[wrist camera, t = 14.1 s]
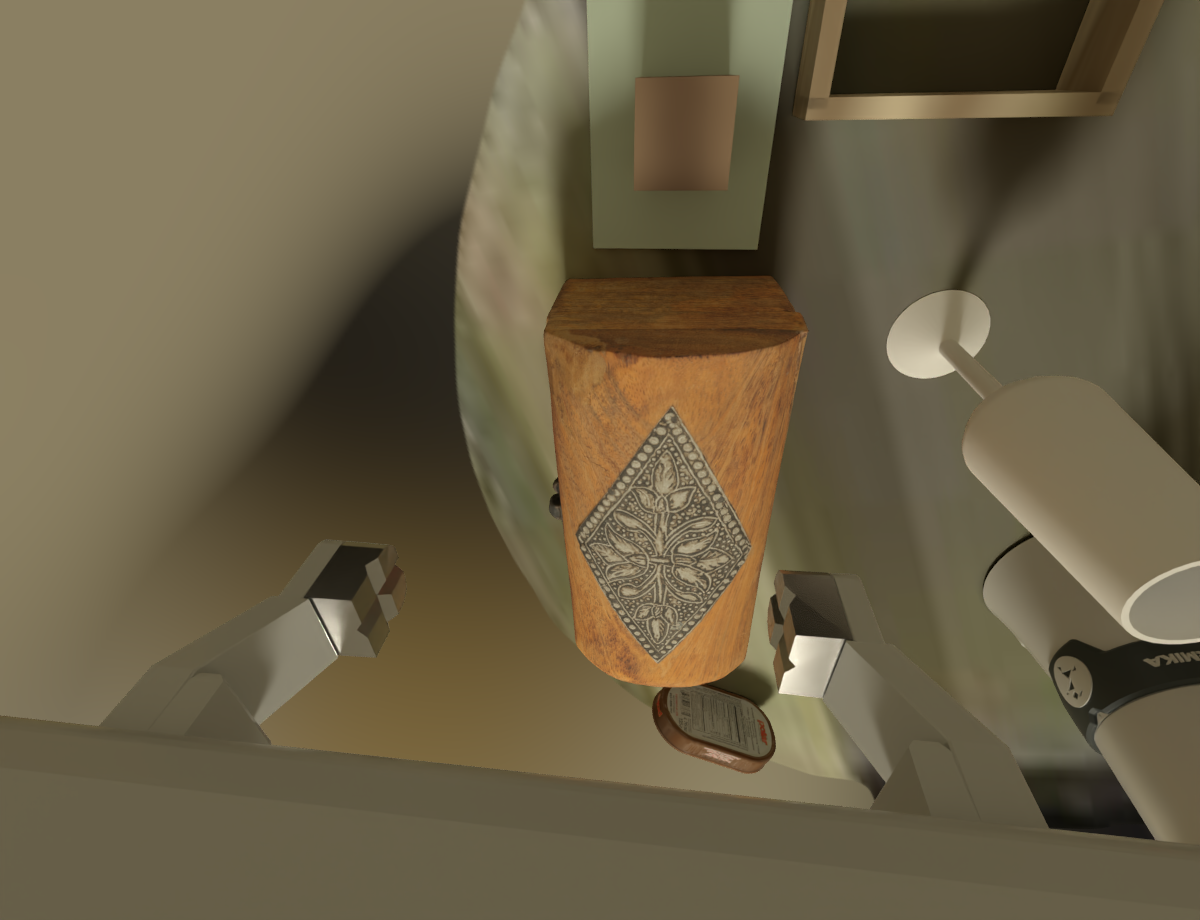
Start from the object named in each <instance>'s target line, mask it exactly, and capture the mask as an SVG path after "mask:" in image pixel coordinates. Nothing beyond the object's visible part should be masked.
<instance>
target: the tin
mask: <svg viewBox="0 0 1200 920" xmlns="http://www.w3.org/2000/svg"><path fill="white" fill-rule="evenodd" d="M652 713H653V719H654V722H655V725H656V727H657V729H658V731H659V733H660V734H661V736H662V737H663V738H664V740H665V741H666V742H667V743H668V744H669V745H670V746H672V747H673V748H674V749H676V750H677V751H679V752H681V753H684V754H686V755H690V756H693V757H696V758H699V759H702V760H705V761H708V762H711V763H714V764H718V765H720V766H723V767H726V768H729V769H732V770H735V771H738V772H741V773H746V774H750V773H755V772H758V771H759V770H760V769H762V768H763V767H764V765H765V764H766V763H767V762H768V761H769V760H770V759H771V758H772V756H773V754H774V752H775V749H776V742H775V736H774V732H773V729H772V726H771V723H770V721H769V719H768V718H767V716H766V715H765V714H764V712H763V711H762V710H761V709H760V708H759V707H758V706H757V705H756V704H754V703H753V702H752V701H750V700H748V699H747V698H744V697H742V696H739V695H736V694H733V693H730V692H727V691H725V690H722V689H719V688H716V687H713V686H710V685H707V684H701V685H697V686H692V687H663V689H662V690H661V691H659V692H658V694H657V695H656V696H655V698H654V701H653V706H652Z"/></svg>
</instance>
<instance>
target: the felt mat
mask: <svg viewBox="0 0 1200 920" xmlns="http://www.w3.org/2000/svg"><path fill="white" fill-rule="evenodd" d="M792 3H793V0H587V30H588V68H589V106H590V144H591V183H592V221H593V248H625V249H741V250H757V248H758V241H759V234H760V227H761V220H762V213H763V206H764V199H765V192H766V185H767V178H768V171H769V164H770V157H771V150H772V143H773V136H774V129H775V122H776V115H777V108H778V101H779V94H780V87H781V80H782V73H783V66H784V59H785V52H786V45H787V38H788V31H789V24H790V17H791V10H792ZM699 75H740V77H739V86H738V96H737V105H736V115H735V124H734V134H733V143H732V152H731V162H730V171H729V181H728V190H727V191H634V131H635V78H638V77H657V76H699Z"/></svg>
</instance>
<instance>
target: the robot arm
mask: <svg viewBox="0 0 1200 920" xmlns="http://www.w3.org/2000/svg"><path fill="white" fill-rule="evenodd" d="M398 558H399V557H398V554H397V552H396V549H395V547H394V546H391V545H385V544H374V543H363V542H352V541H337V540H324V541H322V542H320V543H319V544H318V545H317V546H316V547H315V549H314V550H313V551H312V553H311V554H310V555H309V557H308V558H307V559H306V561H305V562H304V563H303V565H302V566H301V567H300V568H299V570H298V571H297V573H296V574H295V575H294V576H293V578H292V579H291V580H290V582H289V583H288V584H287V586H286V587H285V588H284V589H283V591H282V592H281V593H280V595H279V596H271V597H269V598H268V599H266V600H264V601H262V602H261V603H259V604H257V605H255V606H254V607H252V608H250V609H249V610H247V611H245V612H243V613H242V614H240V615H238V616H237V617H235V618H233V619H231V620H230V621H228V622H226V623H225V624H223V625H221V626H219V627H218V628H216V629H214V630H212V631H211V632H209V633H207V634H206V635H204V636H202V637H200V638H199V639H197V640H195V641H193V642H192V643H190V644H188V645H187V646H185V647H183V648H181V649H180V650H178V651H176V652H175V653H173V654H171V655H169V656H168V657H166V658H164V659H163V660H161V661H159V662H157V663H156V664H154V665H152V666H151V668H150V669H149V670H148V671H147V672H146V673H145V674H144V675H143V676H142V678H141V679H140V680H139V681H138V682H137V683H136V684H135V686H134V687H133V688H132V689H131V690H130V691H129V692H128V693H127V695H126V696H125V697H124V698H123V699H122V700H121V701H120V703H119V704H118V705H117V706H116V707H115V708H114V709H113V711H112V712H111V713H110V714H109V715H108V716H107V717H106V719H105V720H104V721H103V722H102V723H101V724H100V725H99V726H92V725H83V724H73V723H65V722H55V721H46V720H37V719H28V718H18V717H10V716H0V920H1200V642H1196V643H1186V644H1159V643H1152V642H1148V641H1144V640H1141V639H1139V638H1136V637H1134V636H1132V635H1131V634H1130V633H1129V632H1127V631H1126V630H1125V629H1124V628H1123V627H1122V626H1121V625H1120V624H1119V623H1118V622H1117V621H1116V620H1115V619H1114V618H1113V617H1112V616H1111V615H1110V614H1109V613H1108V612H1107V611H1106V609H1105V608H1104V607H1103V606H1102V605H1101V604H1100V603H1099V602H1098V601H1097V600H1096V599H1095V598H1094V597H1093V596H1092V595H1091V594H1090V593H1089V592H1088V591H1087V590H1086V589H1085V588H1084V587H1083V586H1082V585H1081V584H1080V583H1079V582H1078V581H1077V580H1076V579H1075V578H1074V577H1073V576H1072V575H1071V574H1070V573H1069V572H1068V571H1067V570H1066V569H1065V568H1064V566H1063V565H1062V564H1061V563H1060V562H1059V561H1058V560H1057V559H1056V558H1055V557H1054V556H1053V555H1052V554H1051V553H1050V552H1049V551H1048V550H1047V549H1046V548H1045V547H1044V546H1043V545H1042V544H1041V543H1040V542H1039V541H1038V540H1037V539H1036V538H1035V537H1033V538H1031V539H1029V540H1027V541H1025V542H1023V543H1022V544H1020V545H1018V546H1017V547H1015V548H1014V549H1012V550H1011V551H1010V552H1008V553H1007V554H1006V555H1005V556H1004V557H1002V558H1001V559H1000V560H999V561H998V562H997V563H996V565H995V566H994V567H993V568H992V570H991V571H990V573H989V574H988V576H987V578H986V581H985V584H984V588H983V597H984V601H985V603H986V605H987V607H988V608H989V610H990V611H991V612H992V613H993V614H994V615H995V616H996V617H997V618H998V619H1000V620H1001V621H1002V622H1003V623H1004V624H1005V625H1006V626H1007V627H1008V628H1009V629H1010V630H1011V632H1012V633H1013V634H1014V635H1015V637H1016V638H1017V639H1018V640H1019V642H1020V643H1021V644H1022V646H1024V647H1025V648H1026V649H1027V650H1028V651H1029V652H1030V653H1031V655H1032V656H1033V657H1034V658H1035V660H1036V661H1037V662H1038V663H1039V665H1040V666H1041V667H1042V668H1043V670H1044V671H1045V672H1046V673H1047V675H1048V676H1049V677H1050V678H1051V680H1052V681H1053V683H1054V685H1055V687H1056V690H1057V692H1058V694H1059V696H1060V698H1061V701H1062V703H1063V705H1064V707H1065V708H1066V710H1067V711H1068V713H1069V715H1070V716H1071V718H1072V719H1073V721H1074V723H1075V724H1076V726H1077V727H1078V729H1079V731H1080V732H1081V734H1082V736H1083V737H1084V738H1085V739H1086V741H1087V742H1088V744H1089V745H1090V746H1091V748H1092V749H1094V750H1095V751H1096V752H1097V753H1099V754H1101V755H1103V756H1104V758H1105V760H1106V761H1107V763H1108V764H1109V766H1110V768H1111V769H1112V771H1113V773H1114V774H1115V776H1116V777H1117V779H1118V781H1119V782H1120V784H1121V785H1122V787H1123V789H1124V790H1125V792H1126V793H1127V795H1128V796H1129V798H1130V800H1131V801H1132V803H1133V804H1134V806H1135V808H1136V809H1137V811H1138V812H1139V814H1140V816H1141V817H1142V819H1143V820H1144V822H1145V824H1146V825H1147V827H1148V828H1149V830H1150V832H1151V833H1152V835H1153V836H1154V838H1155V840H1148V839H1139V838H1130V837H1120V836H1110V835H1102V834H1092V833H1083V832H1074V831H1065V830H1056V829H1049V828H1048V826H1047V823H1046V821H1045V819H1044V817H1043V815H1042V813H1041V811H1040V809H1039V807H1038V805H1037V803H1036V801H1035V799H1034V797H1033V795H1032V793H1031V791H1030V789H1029V787H1028V785H1027V783H1026V781H1025V779H1024V777H1023V775H1022V773H1021V771H1020V769H1019V767H1018V765H1017V763H1016V761H1015V759H1014V757H1013V755H1012V753H1011V751H1010V749H1009V747H1008V746H1007V745H1006V744H1005V743H1003V742H1002V741H1001V740H1000V739H999V738H998V737H997V736H996V735H994V734H993V733H992V732H991V731H990V730H989V729H988V728H987V727H985V726H984V725H983V724H982V723H981V722H980V721H979V720H978V719H976V718H975V717H974V716H973V715H972V714H971V713H970V712H969V711H967V710H966V709H965V708H964V707H963V706H962V705H961V704H960V703H958V702H957V701H956V700H955V699H954V698H953V697H952V696H951V695H949V694H948V693H947V692H946V691H945V690H944V689H943V688H942V687H940V686H939V685H938V684H937V683H936V682H935V681H934V680H933V679H931V678H930V677H929V676H928V675H927V674H926V673H925V672H924V671H922V670H921V669H920V668H919V667H918V666H917V665H916V664H915V663H913V662H912V661H911V660H910V659H909V658H908V657H907V656H905V655H904V654H903V653H902V652H901V651H900V650H899V649H898V648H896V647H895V646H894V645H893V644H885V643H884V640H883V637H882V635H881V632H880V629H879V627H878V624H877V621H876V619H875V616H874V613H873V611H872V608H871V605H870V603H869V600H868V597H867V595H866V592H865V589H864V587H863V584H862V581H861V579H860V578H859V577H858V576H857V575H856V574H840V573H830V574H829V573H824V572H806V571H788V570H779V571H778V572H777V574H776V577H775V581H774V585H775V591H776V594H775V595H773V596H772V597H771V598H770V602H769V607H768V620H767V623H768V634H769V641H770V644H771V645H772V646H773V647H774V648H775V649H776V654H775V658H774V661H773V665H774V671H775V676H776V682H777V688H778V693H782V694H791V695H800V696H808V697H817V698H823V701H824V703H825V704H826V705H827V707H828V708H829V709H830V710H831V712H832V713H833V714H834V716H835V717H836V718H837V720H838V721H839V722H840V723H841V725H842V726H843V727H844V729H845V730H846V731H847V733H848V734H849V735H850V736H851V738H852V739H853V740H854V742H855V743H856V744H857V746H858V747H859V748H860V749H861V751H862V752H863V753H864V755H865V756H866V757H867V759H868V760H869V761H870V762H871V764H872V765H873V766H874V768H875V769H876V770H877V772H878V773H879V774H880V775H881V777H882V778H883V779H884V781H885V782H886V784H885V785H884V787H883V789H882V790H881V792H880V793H879V795H878V797H877V798H876V800H875V801H874V803H873V805H872V806H871V808H870V809H860V808H851V807H842V806H833V805H823V804H814V803H805V802H796V801H786V800H777V799H767V798H758V797H749V796H739V795H731V794H721V793H712V792H702V791H694V790H684V789H675V788H666V787H657V786H648V785H637V784H629V783H619V782H610V781H602V780H591V779H583V778H574V777H565V776H564V777H563V776H556V775H546V774H537V773H528V772H518V771H508V770H500V769H490V768H481V767H471V766H462V765H452V764H443V763H433V762H425V761H415V760H406V759H397V758H388V757H379V756H369V755H360V754H351V753H341V752H332V751H323V750H313V749H304V748H295V747H285V746H277V745H271V741H270V739H269V738H268V737H267V735H266V734H265V733H264V732H263V730H262V729H261V727H260V726H259V725H260V724H261V723H262V722H263V721H264V720H266V719H267V718H268V717H269V716H270V715H271V714H273V713H274V712H275V711H276V710H277V709H278V708H279V707H281V706H282V705H283V704H284V703H286V702H287V701H288V700H289V699H290V698H291V697H293V696H294V695H295V694H296V693H297V692H298V691H300V690H301V689H302V688H303V687H304V686H305V685H307V684H308V683H309V682H310V681H311V680H312V679H314V678H315V677H316V676H317V675H318V674H319V673H321V672H322V671H323V670H324V669H325V668H326V667H328V666H329V665H330V664H331V663H332V662H333V661H335V660H336V659H337V658H338V655H344V656H360V657H361V656H362V657H377V655H378V653H379V651H380V649H381V647H382V645H383V643H384V641H385V639H386V637H387V636H388V633H389V632H390V630H389V626H388V623H387V622H388V621H389V620H391V619H392V618H393V617H395V616H396V615H397V614H399V612H400V610H401V608H402V606H403V603H404V600H405V595H406V590H407V588H406V578H405V575H404V572H403V571H402V570H401V569H400V568H399V567H397V566H396V565H395V563H396V561H397V559H398Z"/></svg>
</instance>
